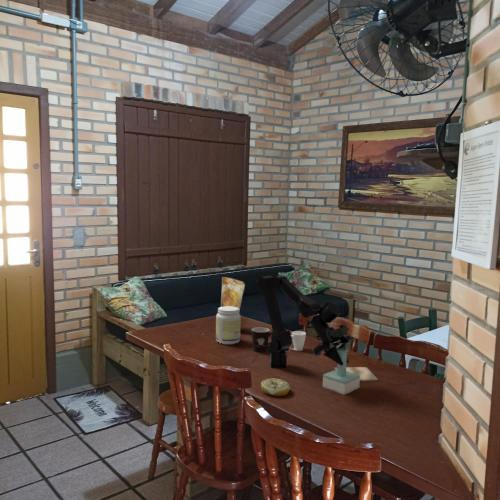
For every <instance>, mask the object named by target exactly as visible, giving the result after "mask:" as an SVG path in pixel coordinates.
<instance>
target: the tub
mask: <svg viewBox="0 0 500 500" xmlns="http://www.w3.org/2000/svg"><path fill="white" fill-rule="evenodd" d="M360 382H361V381H360V378H358V379H356V380H353V381H351V382H349V383H346V384H343V383H340V382H337V381H334V380H331V379H329V378H326V377H323V376H322V388H324V389H326V390H329V391H332V392H335V393H338V394H340V395H343V396H345V395H347V394H349V393H352V392H354V391H356V390H359V389H360Z"/></svg>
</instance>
